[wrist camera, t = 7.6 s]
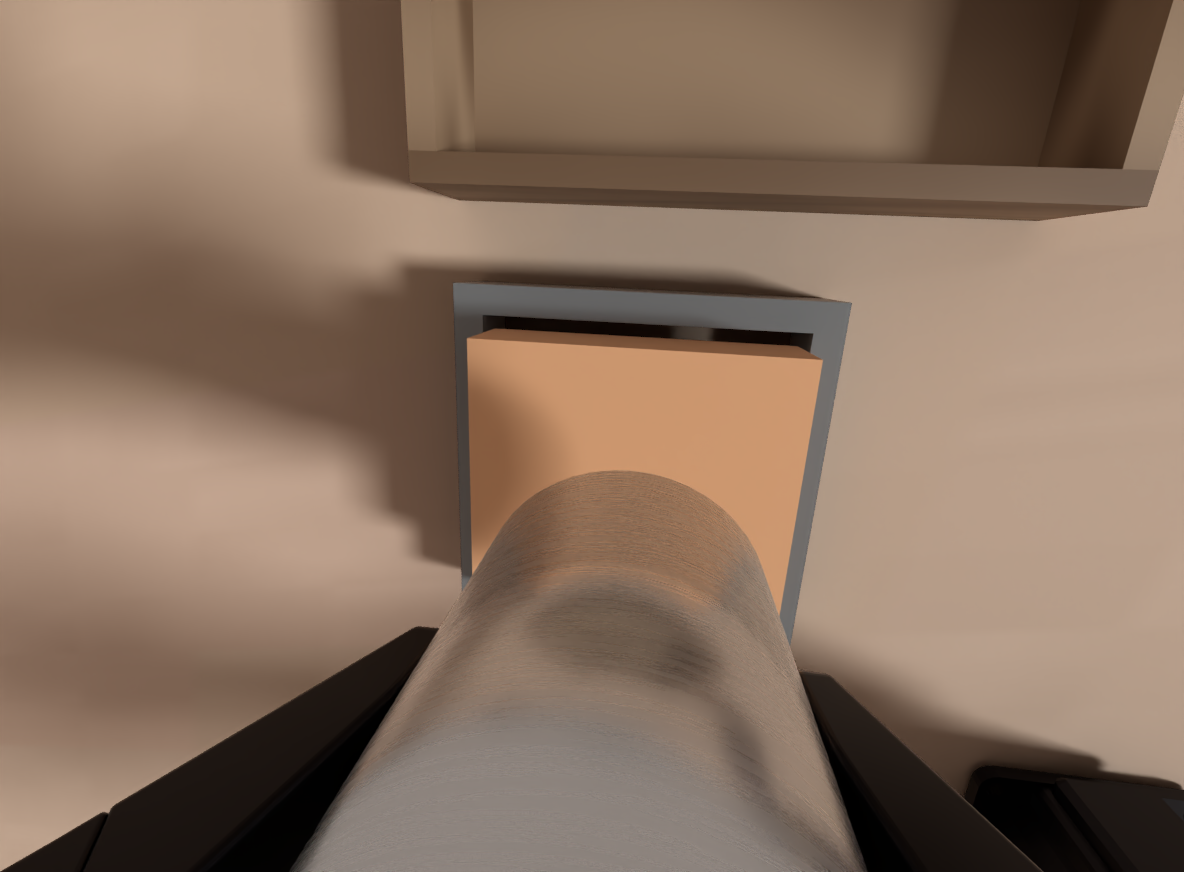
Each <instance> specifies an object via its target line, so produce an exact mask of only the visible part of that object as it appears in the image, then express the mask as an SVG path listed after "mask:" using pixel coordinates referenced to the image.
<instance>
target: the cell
mask: <svg viewBox="0 0 1184 872" xmlns="http://www.w3.org/2000/svg"><path fill="white" fill-rule="evenodd" d="M289 872H868V871H867V868H866V865H865V862H864V859H863V856H862V853H861V850H860V848H859V845H858V842H857V839H856V836H855V833H854V830H853V827H852V824H851V822H850V819H849V816H848V813H847V810H846V807H845V804H844V801H843V799H842V796H841V793H840V790H839V787H838V784H837V781H836V778H835V775H834V773H833V770H832V767H831V764H830V761H829V758H828V755H827V752H826V749H825V747H824V744H823V741H822V738H821V735H820V732H819V729H818V726H817V723H816V721H815V718H814V715H813V712H812V709H811V706H810V703H809V700H808V698H807V695H806V692H805V689H804V686H803V683H802V680H801V677H800V674H799V672H798V669H797V666H796V663H795V660H794V657H793V654H792V651H791V648H790V646H789V643H788V640H787V637H786V634H785V631H784V628H783V625H782V622H781V620H780V617H779V614H778V611H777V608H776V605H775V602H774V599H773V597H772V594H771V591H770V588H769V585H768V582H767V579H766V576H765V573H764V571H763V568H762V565H761V563H760V560H759V558H758V555H757V552H756V551H755V549H754V547H753V545H752V544H751V542H750V540H749V538H748V537H747V535H746V534H745V533H744V532H743V530H742V529H741V528H740V526H739V525H738V524H737V523H736V521H735V520H734V519H733V518H732V517H731V516H730V515H728V514H727V513H726V512H725V511H724V510H723V509H722V508H721V507H720V506H718V505H717V504H716V503H714V502H713V501H712V500H710V499H709V498H708V497H706V496H705V495H703V494H701V493H699V492H698V491H696V490H694V489H692V488H691V487H689V486H686V485H684V484H681V483H679V482H676V481H674V480H672V479H669V478H665V477H661V476H658V475H654V474H650V473H643V472H636V471H621V470H609V471H599V472H590V473H586V474H582V475H577V476H573V477H570V478H567V479H565V480H562V481H559V482H557V483H554V484H552V485H551V486H549V487H547V488H545V489H543V490H541V491H539V492H538V493H536V494H535V495H534V496H532V497H531V498H529V499H528V500H527V501H525V502H524V503H523V504H522V505H521V506H520V507H519V508H518V509H517V510H516V511H515V512H514V513H513V514H512V515H511V516H510V517H509V519H508V520H507V521H506V523H505V524H504V525H503V526H502V528H501V529H500V531H499V533H498V534H497V536H496V537H495V539H494V541H493V542H492V544H491V546H490V547H489V549H488V550H487V552H486V554H485V555H484V557H483V559H482V560H481V562H480V563H479V565H478V567H477V568H476V570H475V571H474V573H473V575H472V576H471V578H470V580H469V581H468V583H467V584H466V586H465V588H464V589H463V591H462V593H461V594H460V596H459V597H458V599H457V601H456V602H455V604H454V605H453V607H452V609H451V610H450V612H449V614H448V615H447V617H446V618H445V620H444V622H443V623H442V625H441V627H440V628H439V630H438V631H437V633H436V635H435V636H434V638H433V639H432V641H431V643H430V644H429V646H428V648H427V649H426V651H425V652H424V654H423V656H422V657H421V659H420V661H419V662H418V664H417V665H416V667H415V669H414V670H413V672H412V673H411V675H410V677H409V678H408V680H407V682H406V683H405V685H404V686H403V688H402V690H401V691H400V693H399V695H398V696H397V698H396V699H395V701H394V703H393V704H392V706H391V707H390V709H389V711H388V712H387V714H386V716H385V717H384V719H383V720H382V722H381V724H380V725H379V727H378V729H377V730H376V732H375V733H374V735H373V737H372V738H371V740H370V741H369V743H368V745H367V746H366V748H365V750H364V751H363V753H362V754H361V756H360V758H359V759H358V761H357V763H356V764H355V766H354V767H353V769H352V771H351V772H350V774H349V776H348V777H347V779H346V780H345V782H344V784H343V785H342V787H341V788H340V790H339V792H338V793H337V795H336V797H335V798H334V800H333V801H332V803H331V805H330V806H329V808H328V810H327V811H326V813H325V814H324V816H323V818H322V819H321V821H320V822H319V824H318V826H317V827H316V829H315V831H314V832H313V834H312V835H311V837H310V839H309V840H308V842H307V844H306V845H305V847H304V848H303V850H302V852H301V853H300V855H299V856H298V858H297V860H296V861H295V863H294V865H293V866H292V868H291V869H290V871H289Z"/></svg>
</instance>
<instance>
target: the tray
mask: <svg viewBox="0 0 1184 872" xmlns="http://www.w3.org/2000/svg"><path fill="white" fill-rule="evenodd" d="M401 20H402V40H403V60H404V81H405V101H406V121H407V141H408V162H409V182H410V183H413V184H416V185H418V186H421V187H424V188H427V189H430V190H432V191H435V192H438V193H441V194H444V195H446V196H449V197H452V198H455V199H458V200H468V201H496V202H524V203H552V204H580V205H609V206H637V207H665V208H693V209H721V210H749V211H777V212H805V213H833V214H861V215H890V216H918V217H946V218H974V219H1002V220H1030V221H1040V220H1048V219H1056V218H1063V217H1071V216H1078V215H1086V214H1094V213H1101V212H1109V211H1116V210H1124V209H1132V208H1139V207H1147V206H1148V203H1149V200H1150V197H1151V194H1152V191H1153V187H1154V184H1155V181H1156V178H1157V175H1158V172H1159V169H1160V166H1161V162H1162V159H1163V156H1164V153H1165V150H1166V147H1167V144H1168V140H1169V137H1170V134H1171V131H1172V128H1173V125H1174V122H1175V119H1176V115H1177V112H1178V109H1179V106H1180V103H1181V100H1182V97H1183V94H1184V0H401Z"/></svg>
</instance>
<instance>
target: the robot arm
mask: <svg viewBox="0 0 1184 872" xmlns="http://www.w3.org/2000/svg"><path fill="white" fill-rule="evenodd" d="M438 630H439V628H430V627H422V626H418V627H415V628H412V629H411V630H409V631H407V632H405V633H404V634H402V635H400V636H399V637H397V638H395V639H394V640H392V641H390V642H389V643H387V644H385V645H384V646H382V647H380V648H378V649H377V650H375V651H373V652H372V653H370V654H368V655H367V656H365V657H363V658H362V659H360V660H358V661H357V662H355V663H353V664H351V665H350V666H348V667H346V668H345V669H343V670H341V671H340V672H338V673H336V674H335V675H333V676H331V677H330V678H328V679H326V680H325V681H323V682H321V683H319V684H318V685H316V686H314V687H313V688H311V689H309V690H308V691H306V692H304V693H303V694H301V695H299V696H298V697H296V698H294V699H292V700H291V701H289V702H287V703H286V704H284V705H282V706H281V707H279V708H277V709H276V710H274V711H272V712H271V713H269V714H267V715H265V716H264V717H262V718H260V719H259V720H257V721H255V722H254V723H252V724H250V725H249V726H247V727H245V728H244V729H242V730H240V731H239V732H237V733H235V734H233V735H232V736H230V737H228V738H227V739H225V740H223V741H222V742H220V743H218V744H217V745H215V746H213V747H212V748H210V749H208V750H206V751H205V752H203V753H201V754H200V755H198V756H196V757H195V758H193V759H191V760H190V761H188V762H186V763H185V764H183V765H181V766H179V767H178V768H176V769H174V770H173V771H171V772H169V773H168V774H166V775H164V776H163V777H161V778H159V779H158V780H156V781H154V782H152V783H151V784H149V785H147V786H146V787H144V788H142V789H141V790H139V791H137V792H136V793H134V794H132V795H131V796H129V797H127V798H125V799H124V800H122V801H120V802H119V803H117V804H115V805H114V806H113V807H112V808H111V810H110V812H109V814H108V813H106V812H102V813H100V814H98V815H96V816H95V817H93V818H91V819H90V820H88V821H86V822H85V823H83V824H81V825H80V826H78V827H76V828H74V829H73V830H71V831H69V832H68V833H66V834H64V835H63V836H61V837H59V838H58V839H56V840H54V841H53V842H51V843H49V844H47V845H46V846H44V847H42V848H40V849H39V850H37V851H35V852H33V853H32V854H30V855H28V856H26V857H25V858H23V859H21V860H19V861H18V862H16V863H14V864H13V865H11V866H9V867H7V868H6V869H4V870H2V871H0V872H289V871H290V869H291V868H292V866H293V865H294V863H295V861H296V860H297V858H298V856H299V855H300V853H301V852H302V850H303V848H304V847H305V845H306V844H307V842H308V840H309V839H310V837H311V835H312V834H313V832H314V831H315V829H316V827H317V826H318V824H319V822H320V821H321V819H322V818H323V816H324V814H325V813H326V811H327V810H328V808H329V806H330V805H331V803H332V801H333V800H334V798H335V797H336V795H337V793H338V792H339V790H340V788H341V787H342V785H343V784H344V782H345V780H346V779H347V777H348V776H349V774H350V772H351V771H352V769H353V767H354V766H355V764H356V763H357V761H358V759H359V758H360V756H361V754H362V753H363V751H364V750H365V748H366V746H367V745H368V743H369V741H370V740H371V738H372V737H373V735H374V733H375V732H376V730H377V729H378V727H379V725H380V724H381V722H382V720H383V719H384V717H385V716H386V714H387V712H388V711H389V709H390V707H391V706H392V704H393V703H394V701H395V699H396V698H397V696H398V695H399V693H400V691H401V690H402V688H403V686H404V685H405V683H406V682H407V680H408V678H409V677H410V675H411V673H412V672H413V670H414V669H415V667H416V665H417V664H418V662H419V661H420V659H421V657H422V656H423V654H424V652H425V651H426V649H427V648H428V646H429V644H430V643H431V641H432V639H433V638H434V636H435V635H436V633H437V631H438ZM798 672H799V674H800V677H801V680H802V683H803V686H804V689H805V692H806V695H807V698H808V700H809V703H810V706H811V709H812V712H813V715H814V718H815V721H816V723H817V726H818V729H819V732H820V735H821V738H822V741H823V744H824V747H825V749H826V752H827V755H828V758H829V761H830V764H831V767H832V770H833V773H834V775H835V778H836V781H837V784H838V787H839V790H840V793H841V796H842V799H843V801H844V804H845V807H846V810H847V813H848V816H849V819H850V822H851V824H852V827H853V830H854V833H855V836H856V839H857V842H858V845H859V848H860V850H861V853H862V856H863V859H864V862H865V865H866V868H867V871H868V872H1184V790H1178V789H1170V788H1162V787H1155V786H1147V785H1139V784H1131V783H1123V782H1115V781H1108V780H1100V779H1092V778H1084V777H1076V776H1068V775H1060V774H1053V773H1045V772H1037V771H1029V770H1021V769H1013V768H1006V767H998V766H984V767H981V768H979V769H977V770H976V771H974V773H973V775H972V776H971V779H970V782H969V785H968V789H967V792H966V795H965V798H963V797H962V796H961V795H960V794H959V793H957V792H956V791H955V790H954V789H953V788H952V787H951V786H950V785H949V784H948V783H947V782H945V781H944V780H943V779H942V778H941V777H940V776H939V775H938V774H937V773H936V772H935V771H934V770H932V769H931V768H930V767H929V766H928V765H927V764H926V763H925V762H924V761H923V760H922V759H921V758H919V757H918V756H917V755H916V754H915V753H914V752H913V751H912V750H911V749H910V748H909V747H907V746H906V745H905V744H904V743H903V742H902V741H901V740H900V739H899V738H898V737H897V736H896V735H894V734H893V733H892V732H891V731H890V730H889V729H888V728H887V727H886V726H885V725H884V724H883V723H881V722H880V721H879V720H878V719H877V718H876V717H875V716H874V715H873V714H872V713H871V712H869V711H868V710H867V709H866V708H865V707H864V706H863V705H862V704H861V703H860V702H859V701H858V700H856V699H855V698H854V697H853V696H852V695H851V694H850V693H849V692H848V691H847V690H846V689H845V688H843V687H842V686H841V685H840V684H839V683H838V682H837V681H836V680H835V679H834V678H832V677H831V676H830V675H828V674H824V673H817V672H808V671H798Z"/></svg>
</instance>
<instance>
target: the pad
mask: <svg viewBox="0 0 1184 872" xmlns="http://www.w3.org/2000/svg"><path fill="white" fill-rule="evenodd" d="M467 362H468V407H469V451H470V495H471V539H472V575H473V573H474V571H475V570H476V568H477V567H478V565H479V563H480V562H481V560H482V559H483V557H484V555H485V554H486V552H487V550H488V549H489V547H490V546H491V544H492V542H493V541H494V539H495V537H496V536H497V534H498V533H499V531H500V529H501V528H502V526H503V525H504V524H505V523H506V521H507V520H508V519H509V517H510V516H511V515H512V514H513V513H514V512H515V511H516V510H517V509H518V508H519V507H520V506H521V505H522V504H523V503H524V502H525V501H527V500H528V499H529V498H531V497H532V496H534V495H535V494H536V493H538V492H539V491H541V490H543V489H545V488H547V487H549V486H551V485H552V484H554V483H557V482H559V481H562V480H565V479H567V478H570V477H573V476H577V475H582V474H586V473H590V472H599V471H609V470H621V471H636V472H643V473H650V474H654V475H658V476H661V477H665V478H669V479H672V480H674V481H676V482H679V483H681V484H684V485H686V486H689V487H691V488H692V489H694V490H696V491H698V492H699V493H701V494H703V495H705V496H706V497H708V498H709V499H710V500H712V501H713V502H714V503H716V504H717V505H718V506H720V507H721V508H722V509H723V510H724V511H725V512H726V513H727V514H728V515H730V516H731V517H732V518H733V519H734V520H735V521H736V523H737V524H738V525H739V526H740V528H741V529H742V530H743V532H744V533H745V534H746V535H747V537H748V538H749V540H750V542H751V544H752V545H753V547H754V549H755V551H756V552H757V555H758V558H759V560H760V563H761V565H762V568H763V571H764V573H765V576H766V579H767V582H768V585H769V588H770V591H771V594H772V597H773V599H774V602H775V605H776V608H777V611H778V614H779V616H780V610H781V604H782V598H783V592H784V586H785V580H786V575H787V569H788V563H789V557H790V551H791V545H792V539H793V533H794V528H795V522H796V516H797V510H798V504H799V498H800V492H801V486H802V481H803V475H804V469H805V463H806V457H807V451H808V445H809V439H810V434H811V428H812V422H813V416H814V410H815V404H816V398H817V392H818V387H819V381H820V375H821V369H822V363H823V360H822V359H820V358H818V357H817V356H815V355H813V354H811V353H809V352H807V351H806V350H804V349H802V348H800V347H798V346H786V345H769V344H752V343H735V342H718V341H701V340H684V339H667V338H650V337H633V336H616V335H599V334H582V333H565V332H548V331H531V330H514V329H497V328H495V329H492V330H489V331H486V332H483V333H480V334H478V335H475V336H472V337H469V338H467Z"/></svg>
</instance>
